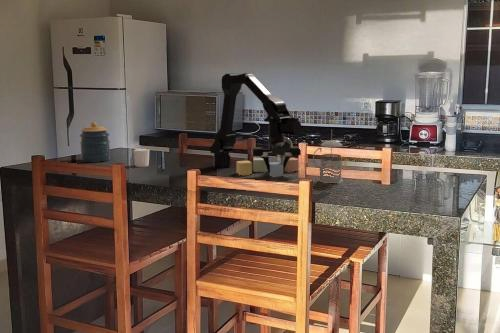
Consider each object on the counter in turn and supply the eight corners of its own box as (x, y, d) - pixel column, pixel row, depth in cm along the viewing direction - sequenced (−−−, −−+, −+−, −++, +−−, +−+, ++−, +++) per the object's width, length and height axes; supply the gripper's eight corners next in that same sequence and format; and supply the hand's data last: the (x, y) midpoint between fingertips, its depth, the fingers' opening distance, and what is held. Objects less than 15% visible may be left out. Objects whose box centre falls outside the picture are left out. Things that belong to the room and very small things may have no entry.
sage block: (253, 172, 227) (253, 160, 226) (253, 169, 232) (253, 157, 231) (265, 172, 226) (265, 160, 226) (265, 169, 231) (265, 157, 230)
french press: (343, 184, 203) (345, 115, 199) (311, 183, 205) (312, 115, 201) (344, 178, 213) (346, 113, 208) (313, 177, 215) (315, 112, 210)
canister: (79, 159, 258) (76, 121, 254) (107, 157, 263) (105, 119, 260) (83, 163, 246) (81, 123, 243) (113, 161, 251) (111, 122, 248)
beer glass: (286, 170, 236) (286, 154, 223) (273, 162, 238) (272, 146, 225) (295, 158, 238) (296, 141, 225) (282, 150, 240) (281, 133, 227)
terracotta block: (287, 172, 225) (287, 160, 224) (282, 170, 230) (282, 158, 229) (298, 171, 227) (299, 159, 226) (293, 169, 232) (293, 157, 231)
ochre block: (239, 175, 219) (239, 163, 218) (236, 173, 224) (236, 161, 223) (251, 175, 221) (251, 162, 220) (248, 172, 225) (248, 160, 225)
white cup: (151, 164, 244) (151, 148, 243) (147, 167, 238) (147, 150, 236) (136, 164, 245) (136, 148, 244) (131, 166, 238) (131, 150, 237)
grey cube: (270, 177, 216) (270, 164, 215) (268, 174, 221) (268, 162, 220) (283, 177, 217) (283, 164, 216) (281, 174, 222) (281, 162, 221)
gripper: (254, 136, 207) (254, 177, 210) (304, 135, 209) (303, 176, 212) (251, 133, 218) (251, 172, 221) (298, 132, 220) (297, 171, 223)
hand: (275, 173), depth 219 cm, fingers closed on grey cube, 5 cm apart
